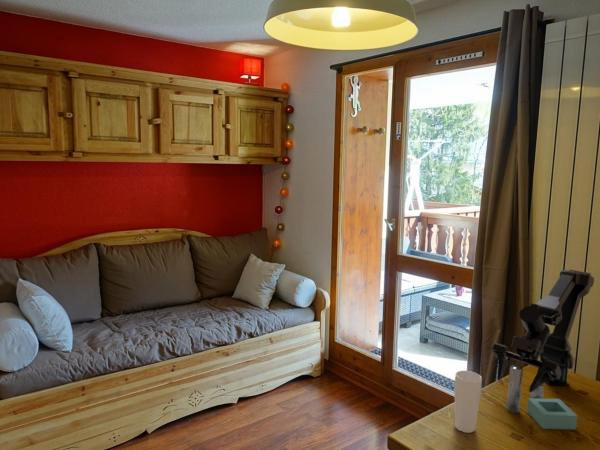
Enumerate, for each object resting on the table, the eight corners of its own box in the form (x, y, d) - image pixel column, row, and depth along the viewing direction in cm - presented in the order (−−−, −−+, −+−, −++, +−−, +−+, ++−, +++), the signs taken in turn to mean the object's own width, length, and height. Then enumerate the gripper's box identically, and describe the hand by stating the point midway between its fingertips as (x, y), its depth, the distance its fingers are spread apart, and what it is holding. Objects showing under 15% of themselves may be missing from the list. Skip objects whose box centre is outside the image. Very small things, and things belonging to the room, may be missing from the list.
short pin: (539, 396, 146) (540, 382, 146) (544, 401, 143) (546, 387, 142) (528, 396, 146) (529, 382, 146) (533, 401, 143) (535, 387, 142)
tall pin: (515, 407, 139) (519, 365, 137) (521, 413, 136) (525, 370, 134) (504, 406, 139) (507, 365, 137) (509, 413, 136) (513, 370, 134)
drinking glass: (474, 422, 131) (478, 371, 129) (481, 436, 124) (485, 382, 122) (449, 420, 131) (452, 369, 129) (454, 434, 125) (458, 380, 122)
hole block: (557, 411, 137) (559, 398, 137) (575, 429, 128) (577, 415, 128) (527, 411, 137) (528, 398, 137) (542, 428, 128) (544, 414, 128)
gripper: (496, 317, 144) (475, 360, 139) (561, 335, 130) (540, 384, 125) (507, 336, 150) (486, 378, 145) (570, 355, 136) (550, 403, 131)
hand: (513, 385), depth 136 cm, fingers open, 9 cm apart
